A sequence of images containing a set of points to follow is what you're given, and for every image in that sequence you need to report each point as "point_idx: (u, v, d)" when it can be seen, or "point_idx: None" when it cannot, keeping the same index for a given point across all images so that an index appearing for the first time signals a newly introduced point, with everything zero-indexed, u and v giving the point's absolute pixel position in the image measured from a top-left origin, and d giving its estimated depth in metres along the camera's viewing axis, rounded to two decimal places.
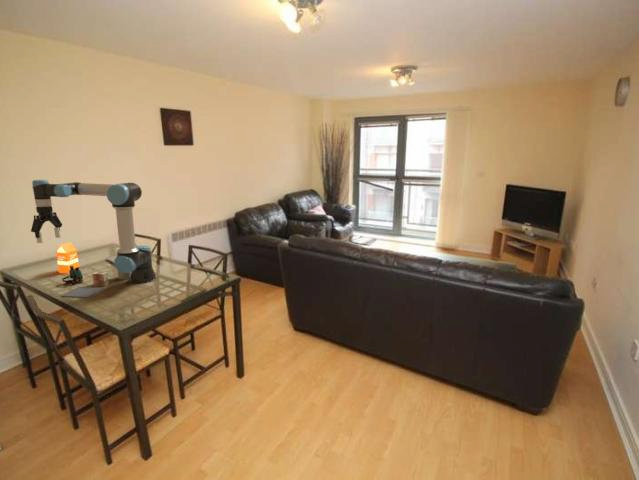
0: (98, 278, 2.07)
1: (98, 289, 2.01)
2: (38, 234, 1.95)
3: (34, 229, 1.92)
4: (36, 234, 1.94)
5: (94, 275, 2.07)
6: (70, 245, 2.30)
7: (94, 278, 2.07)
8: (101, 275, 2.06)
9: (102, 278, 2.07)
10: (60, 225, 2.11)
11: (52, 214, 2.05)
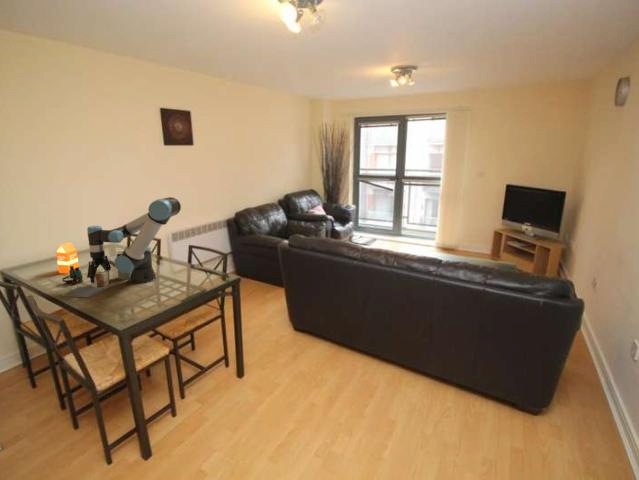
0: (98, 278, 2.07)
1: (98, 289, 2.01)
2: (93, 279, 2.02)
3: (90, 275, 1.99)
4: (91, 279, 2.01)
5: None
6: (70, 245, 2.30)
7: None
8: (101, 275, 2.06)
9: (102, 278, 2.07)
10: (109, 268, 2.16)
11: (103, 257, 2.11)
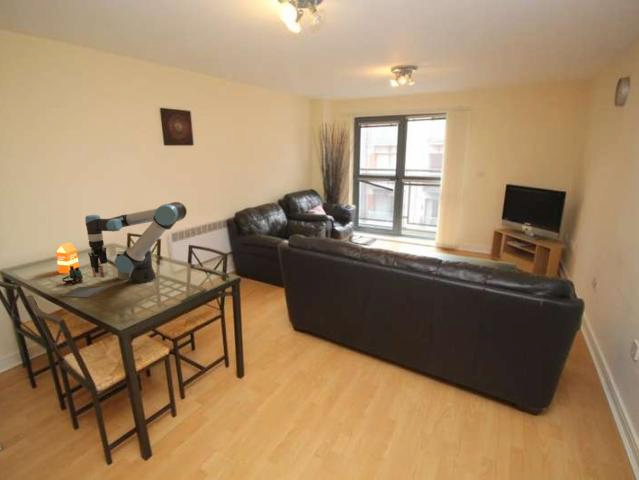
0: None
1: (98, 289, 2.01)
2: (97, 269, 2.04)
3: (94, 265, 2.01)
4: (96, 269, 2.04)
5: None
6: (70, 245, 2.30)
7: (93, 270, 2.06)
8: (100, 266, 2.05)
9: (101, 269, 2.06)
10: (105, 262, 2.11)
11: (102, 248, 2.09)
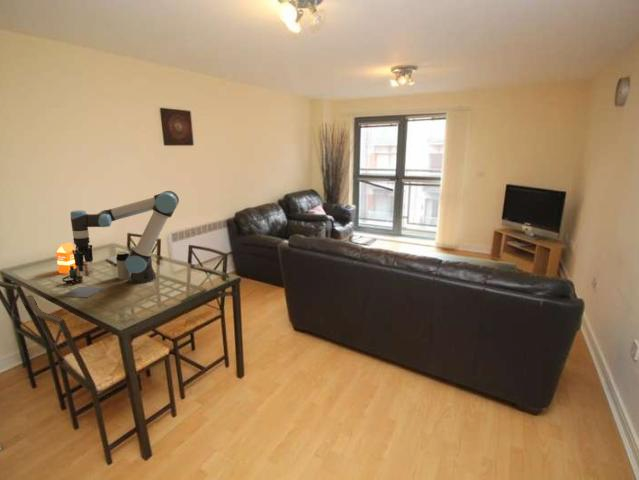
0: None
1: (98, 289, 2.01)
2: (82, 268, 1.95)
3: (78, 264, 1.91)
4: (80, 268, 1.94)
5: None
6: (70, 245, 2.30)
7: (77, 268, 1.96)
8: (85, 265, 1.95)
9: (86, 268, 1.96)
10: None
11: (88, 246, 1.99)
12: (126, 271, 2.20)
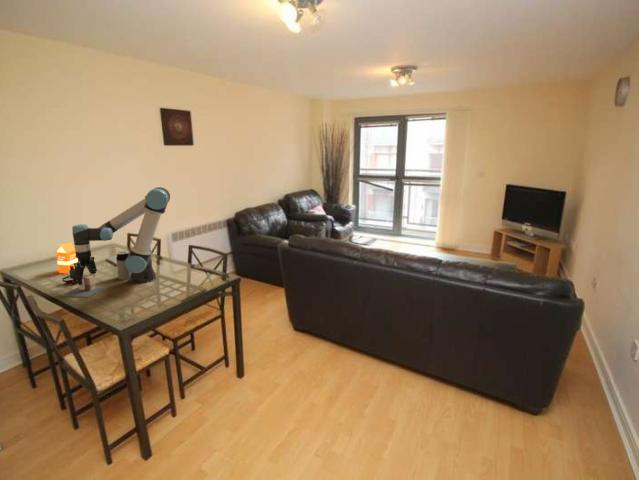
0: (84, 282, 1.98)
1: (98, 289, 2.01)
2: (81, 281, 1.94)
3: (77, 277, 1.91)
4: (79, 281, 1.94)
5: None
6: (70, 245, 2.30)
7: None
8: (87, 279, 1.98)
9: (88, 282, 1.98)
10: (95, 271, 2.06)
11: (90, 258, 2.01)
12: (126, 271, 2.20)
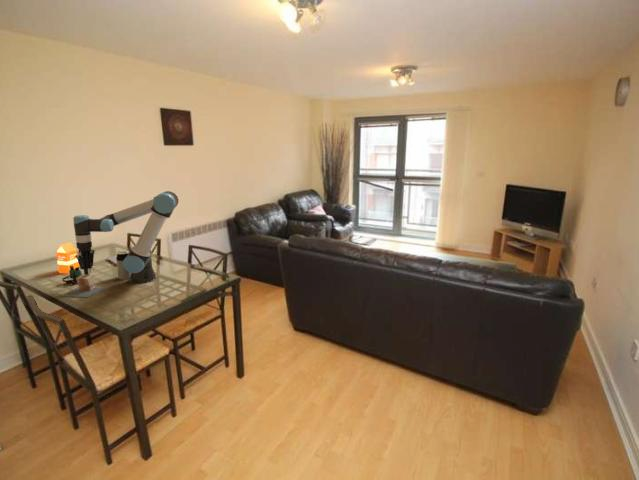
0: (83, 283, 1.97)
1: (98, 289, 2.01)
2: (87, 271, 1.99)
3: (83, 267, 1.96)
4: (85, 271, 1.98)
5: (78, 280, 1.97)
6: (70, 245, 2.30)
7: (79, 283, 1.97)
8: (85, 280, 1.96)
9: (87, 283, 1.97)
10: (91, 265, 2.02)
11: (90, 250, 2.02)
12: (126, 271, 2.20)
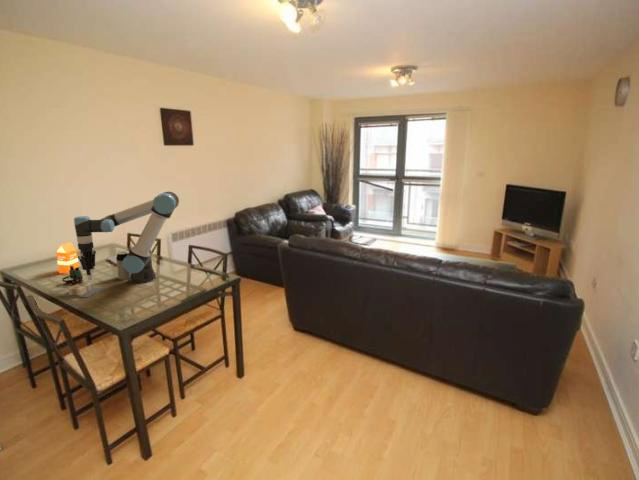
0: None
1: (98, 289, 2.01)
2: (89, 271, 2.00)
3: (85, 268, 1.97)
4: (87, 272, 1.99)
5: None
6: (70, 245, 2.30)
7: None
8: None
9: None
10: (93, 266, 2.03)
11: (92, 251, 2.02)
12: (126, 271, 2.20)
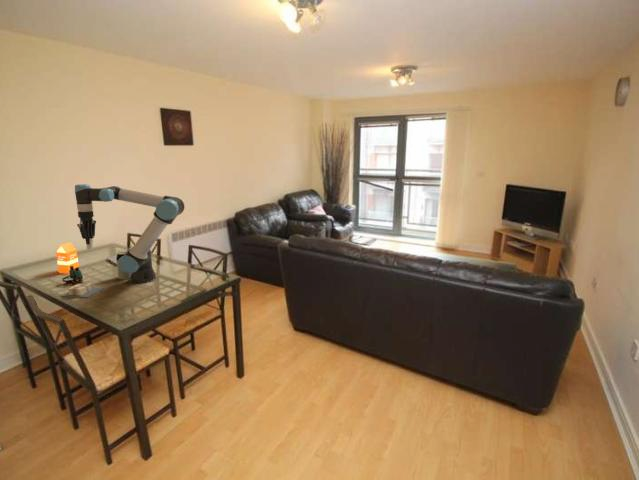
0: None
1: (98, 289, 2.01)
2: (88, 241, 1.99)
3: (85, 237, 1.96)
4: (87, 241, 1.98)
5: None
6: (70, 245, 2.30)
7: None
8: None
9: None
10: None
11: (92, 221, 2.02)
12: None
